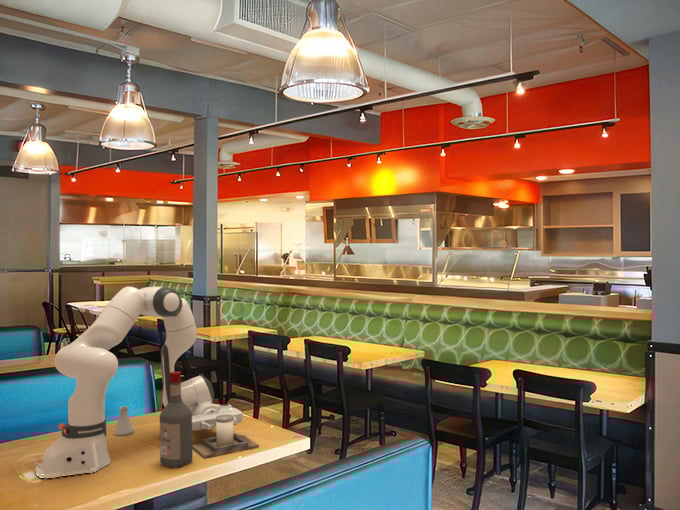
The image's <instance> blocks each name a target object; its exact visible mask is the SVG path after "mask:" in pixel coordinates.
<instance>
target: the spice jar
mask: <svg viewBox="0 0 680 510" xmlns="http://www.w3.org/2000/svg"><path fill="white" fill-rule="evenodd" d="M215 429H216V431H215V435H216V436H215V437H216V446H217V447H221V446H226V445H231V444H234V435H233V434H234V425H233V415H219V416H217V417H216V427H215Z"/></svg>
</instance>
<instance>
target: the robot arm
mask: <svg viewBox="0 0 680 510" xmlns="http://www.w3.org/2000/svg"><path fill="white" fill-rule="evenodd" d="M139 316H143V317H145V316H146V317H150V318H151V317H152V318H162V320H163V323H164V328H165V333H166V334H165V335H166V337H165V342H164V344H163V345H162V346H161V350H160V362H161V380H162V403H163V406H164V408H165V407H166V405H167V404H168V403H169V402H170V372H175V364H176V362H177V360H178V359H179V358H180V357H181V356H182V355H183V354H184V353H185V352H187V351H188V350H189V349H190V348H191V347H192V346H193V345H194V343H195V342H196V340H197V338H198V330H197V325H196V321H195V318H194V315H193V312H192V309H191V307H190V304H189V303H188V301H187V299H185V298H182V297H181V295H180V293H178V291H177V290H176V289H174V288H171V287H168V286H164V287H163V286H147V287H146V286H144V287H139V288H137V287H134V286H125V287H123V288H122V289H120V290H119V291H118V292H117V293H116V294H115V295H114V296H113V297H112V299H110V301H109V302H108V303H107V305H106V306H105V307H104V308H103V310H102V311H101V312H100V314H99V315H98V316H97V317H96V319H95V320H94V322H93V323H92V324H91V325H90V326H89V327H88V328H87V329H86V330H85V331H84V332H83V333H81V334H80V335H79V336H78V337H77V338H76V339H75V340H74V341H72V342H71V343H69V344H68V345H66V346H63V347H62V348H60V349H59V350H58V351H57V353H56V355H55V358H54V366H55V369H56V370H57V371H58V372H59V373H61V374H62V375H64V376H66V377H68V378H71V379H75V380H76V384H75V389H74V392H73V394H72V395H70V397H69V399H68V402H67V407H68V408H67V412H68V417H67V420H68V422H67V423H66V424H65V423H60V424H59V425H58V429H59V430H60V431H61V437H59V438H58V439H57V440H56V441H54V442H53V443H52V444H51V445H49V446H48V447H47V448H46V450H45V451H44V454H43V457H42V462H41V463H38V464H37V465H36V466H35V469H34V472H35V471H36V473H37V474H38V475H39V476H41V477H44V478H47V477H55V476H62V475H68V474H79V473H90V474H94V473H93V472H95V473H96V471H97V472H98V471H99V470H100V469H103V468H105V467H106V466H108V465H109V464H110V463H111V461H112V460H111V457H110V454H109V449H108V446H107V445H108V443H107V433H108V432H107V431H108V430H107V429H108V427H107V426H108V423H107V419H106V418H105V416H106V415H105V414H106V411H105V410H106V407H105V406H106V405H105V403H106V402H105V401H106V392H107V389H108V386H109V383H110V380H111V381H112V379H113V378H114V377H115V375H116V374H117V371H118V370H119V361H118V358H117V356H116V355H115V354H114V353H112V352H110V351H109V350H111V349H112V348H113V347H116V346H117V345H119V344H120V343H122V342H123V340H124V339H125V337H126V336H127V334H128V333H129V331H130V330H131V329H132V327H133V326H134V325H135V323H136V321H137V320H138V318H139ZM214 391H215V390H214V387H213V385H212V383H211V381H210V380H209V379H208V378H206V377H205V376H203V375H198V376H195V377H192V378H189V379H188V380H185V381H181V398H182V401H183V402H184V403H185V404H186V405H187V406H188V407H189V408H190V409H191V412H192V432H195V431H201V430H207V431H209V430H213V429H215V428H216V417H217V416H219V415H233V426H237V425H238V424H240V423H243V421H244V413H243V412H242V411H241V410H239V408H235V407H233V406H232V404H216V403H213V402H214V398H215V392H214ZM41 474H44V475H41Z"/></svg>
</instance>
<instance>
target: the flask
mask: <svg viewBox="0 0 680 510" xmlns="http://www.w3.org/2000/svg"><path fill="white" fill-rule="evenodd" d="M128 408H129V406H120V407H119V408H118V410H119V416H118V421H117V424H116V427H115V430H114V433H113V435H115V436H119V437H121V436H128V435H131V434H133V433H134V432H135V431H134V427H133V425H132V422H131V420H130V418H129V413H128Z"/></svg>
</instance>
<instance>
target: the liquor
mask: <svg viewBox="0 0 680 510" xmlns="http://www.w3.org/2000/svg"><path fill="white" fill-rule="evenodd" d="M181 383H182V371H177V370H176V371H175V370H174V372H170V402H169V403H168V404H167V405H166V407H165V406H164V408H163V409H162V410H161V412H160V414H159V452H160V453H159V457H160V459H159V461H160V465H161V467H166V468H170V469H178V468H182V467H185V466H187V465H190V464H192V462H193V449H192V445H193V431H192V412H191V409H190V408H189V407H188V406H187V405H186V404H185V403H184V402H183V401H182V398H181Z"/></svg>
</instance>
